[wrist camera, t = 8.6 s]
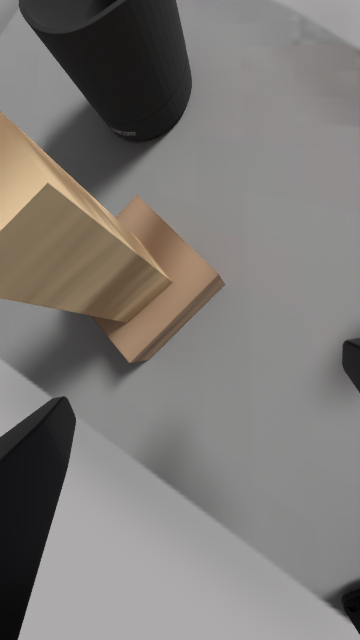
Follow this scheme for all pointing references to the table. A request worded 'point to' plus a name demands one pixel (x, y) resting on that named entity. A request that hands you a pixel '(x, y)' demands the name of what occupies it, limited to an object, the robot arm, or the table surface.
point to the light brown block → (175, 301)
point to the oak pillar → (65, 240)
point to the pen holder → (119, 58)
